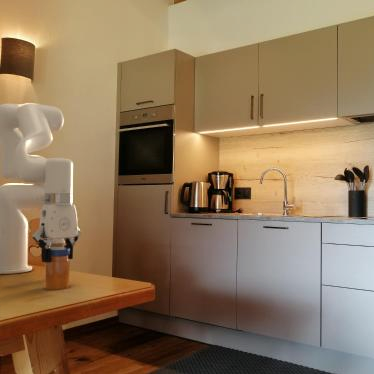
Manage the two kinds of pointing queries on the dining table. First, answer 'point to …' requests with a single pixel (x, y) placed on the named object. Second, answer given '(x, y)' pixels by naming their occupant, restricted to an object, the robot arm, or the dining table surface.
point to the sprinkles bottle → (57, 243)
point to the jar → (58, 273)
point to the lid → (60, 251)
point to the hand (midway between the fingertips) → (57, 259)
